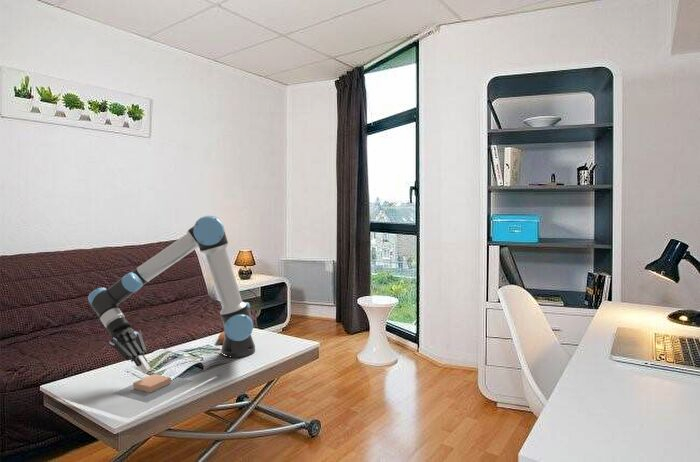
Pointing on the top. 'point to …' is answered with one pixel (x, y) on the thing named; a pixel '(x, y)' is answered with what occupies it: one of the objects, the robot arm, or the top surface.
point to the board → (147, 396)
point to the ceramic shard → (221, 338)
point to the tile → (152, 383)
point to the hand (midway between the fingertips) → (147, 371)
